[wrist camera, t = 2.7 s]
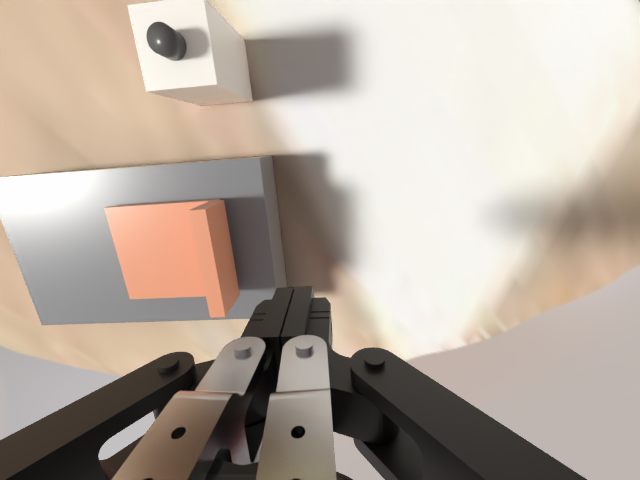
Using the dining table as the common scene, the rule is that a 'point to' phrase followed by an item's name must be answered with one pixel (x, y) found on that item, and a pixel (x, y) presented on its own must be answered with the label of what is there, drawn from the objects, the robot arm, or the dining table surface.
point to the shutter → (176, 251)
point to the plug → (190, 52)
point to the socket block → (98, 247)
